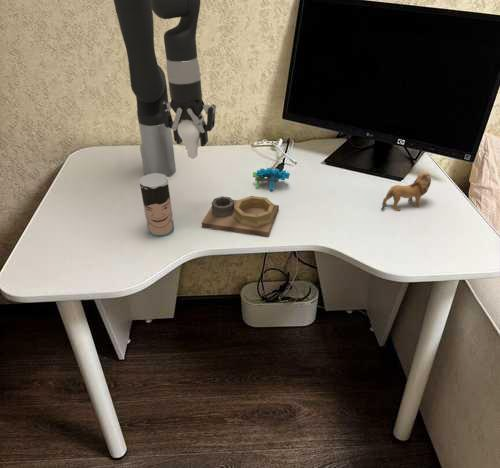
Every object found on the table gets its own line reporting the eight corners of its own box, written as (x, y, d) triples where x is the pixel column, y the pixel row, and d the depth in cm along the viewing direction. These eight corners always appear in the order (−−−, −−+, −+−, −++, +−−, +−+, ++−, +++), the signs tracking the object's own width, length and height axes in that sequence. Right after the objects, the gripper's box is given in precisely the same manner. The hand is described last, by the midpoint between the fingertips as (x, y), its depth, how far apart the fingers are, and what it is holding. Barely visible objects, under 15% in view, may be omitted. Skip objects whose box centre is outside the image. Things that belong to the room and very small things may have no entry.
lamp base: (201, 227, 121) (200, 213, 119) (217, 202, 131) (216, 188, 129) (268, 236, 117) (268, 222, 115) (278, 210, 128) (279, 196, 125)
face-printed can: (143, 235, 119) (134, 184, 110) (155, 221, 124) (147, 171, 115) (167, 239, 117) (159, 188, 108) (178, 225, 122) (172, 175, 114)
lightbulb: (208, 154, 121) (204, 114, 114) (199, 165, 116) (194, 123, 110) (187, 151, 123) (182, 112, 116) (177, 162, 118) (171, 121, 112)
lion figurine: (418, 195, 133) (424, 167, 128) (430, 204, 129) (437, 176, 124) (375, 206, 128) (380, 178, 123) (387, 216, 124) (392, 187, 119)
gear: (293, 176, 140) (285, 165, 130) (291, 195, 139) (283, 185, 130) (258, 176, 143) (248, 165, 134) (256, 194, 142) (246, 185, 133)
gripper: (148, 80, 106) (159, 148, 116) (208, 84, 103) (213, 152, 113) (162, 71, 112) (171, 135, 122) (218, 74, 109) (223, 140, 118)
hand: (191, 143), depth 117 cm, fingers closed on lightbulb, 6 cm apart
